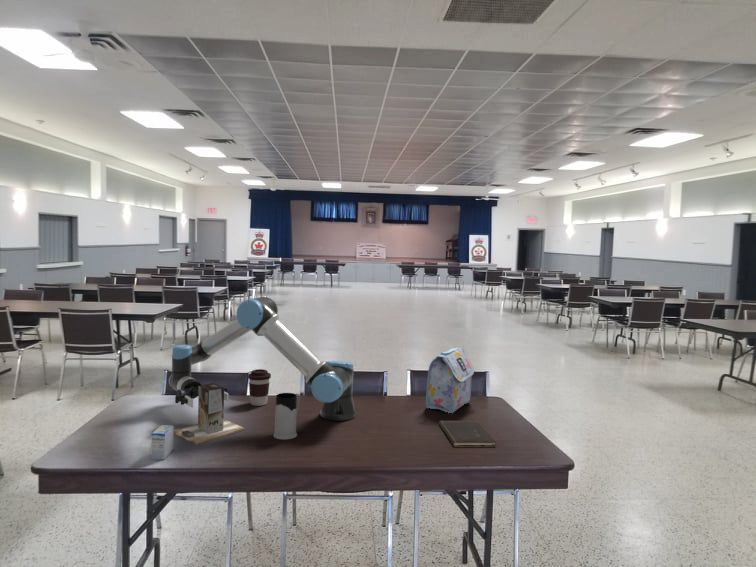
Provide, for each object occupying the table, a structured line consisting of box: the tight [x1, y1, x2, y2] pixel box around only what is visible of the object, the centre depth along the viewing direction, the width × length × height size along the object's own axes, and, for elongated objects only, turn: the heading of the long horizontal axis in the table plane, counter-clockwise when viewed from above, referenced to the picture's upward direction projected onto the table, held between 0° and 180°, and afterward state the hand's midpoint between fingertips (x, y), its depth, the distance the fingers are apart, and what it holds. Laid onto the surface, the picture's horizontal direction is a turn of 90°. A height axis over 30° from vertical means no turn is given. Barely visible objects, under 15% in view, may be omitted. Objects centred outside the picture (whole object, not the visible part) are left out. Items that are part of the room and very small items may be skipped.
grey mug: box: [272, 392, 301, 440], centre depth 179 cm, size 9×14×15 cm, turn 160°
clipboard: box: [174, 419, 246, 445], centre depth 178 cm, size 16×20×2 cm
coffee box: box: [197, 382, 225, 433], centre depth 178 cm, size 9×6×16 cm
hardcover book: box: [438, 420, 497, 447], centre depth 184 cm, size 16×23×2 cm
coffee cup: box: [247, 368, 272, 407], centre depth 213 cm, size 10×10×15 cm
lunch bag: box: [425, 347, 475, 414], centre depth 220 cm, size 22×17×26 cm
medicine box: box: [150, 424, 175, 461], centre depth 155 cm, size 8×4×9 cm, turn 5°
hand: (210, 400), depth 177 cm, fingers open, 13 cm apart
